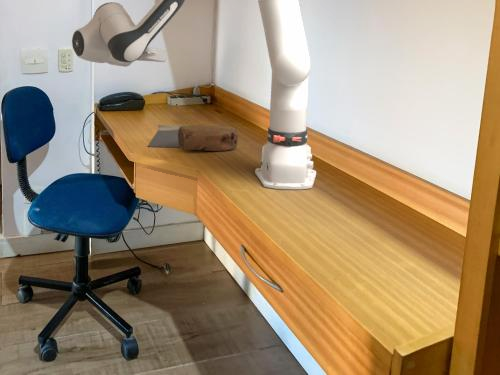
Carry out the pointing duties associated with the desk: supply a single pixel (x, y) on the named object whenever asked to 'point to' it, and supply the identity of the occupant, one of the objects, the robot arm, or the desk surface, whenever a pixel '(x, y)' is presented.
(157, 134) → the mat
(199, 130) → the block
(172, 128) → the stop strip
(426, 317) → the desk surface
